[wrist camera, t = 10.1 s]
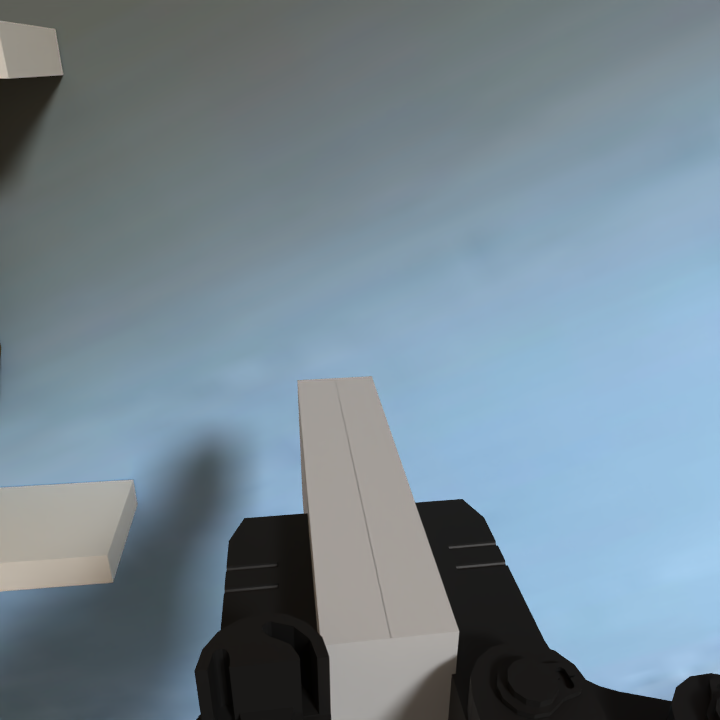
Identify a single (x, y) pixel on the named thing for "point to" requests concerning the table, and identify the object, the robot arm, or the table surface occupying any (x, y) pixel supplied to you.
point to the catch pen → (59, 501)
